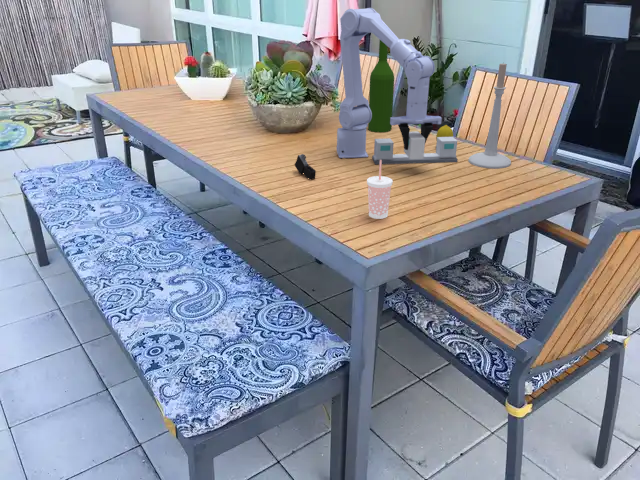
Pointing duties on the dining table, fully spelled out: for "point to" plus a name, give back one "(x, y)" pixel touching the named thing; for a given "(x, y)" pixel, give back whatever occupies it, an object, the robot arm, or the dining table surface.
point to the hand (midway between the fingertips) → (413, 148)
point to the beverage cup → (379, 195)
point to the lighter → (304, 167)
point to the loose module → (415, 146)
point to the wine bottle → (381, 93)
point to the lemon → (444, 132)
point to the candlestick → (493, 132)
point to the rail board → (443, 154)
